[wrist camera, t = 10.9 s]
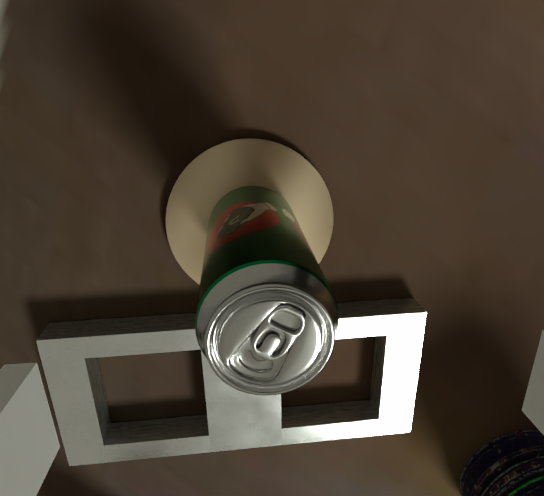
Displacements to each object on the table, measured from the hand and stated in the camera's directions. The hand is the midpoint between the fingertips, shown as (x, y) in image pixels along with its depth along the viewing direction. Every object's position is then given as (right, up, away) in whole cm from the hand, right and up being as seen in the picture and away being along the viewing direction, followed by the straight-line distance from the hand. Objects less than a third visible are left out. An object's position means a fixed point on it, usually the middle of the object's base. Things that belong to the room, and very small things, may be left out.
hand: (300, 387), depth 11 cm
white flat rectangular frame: (-3, -5, +18) cm, 19 cm away
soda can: (-2, +5, +14) cm, 15 cm away
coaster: (-2, +5, +14) cm, 15 cm away
